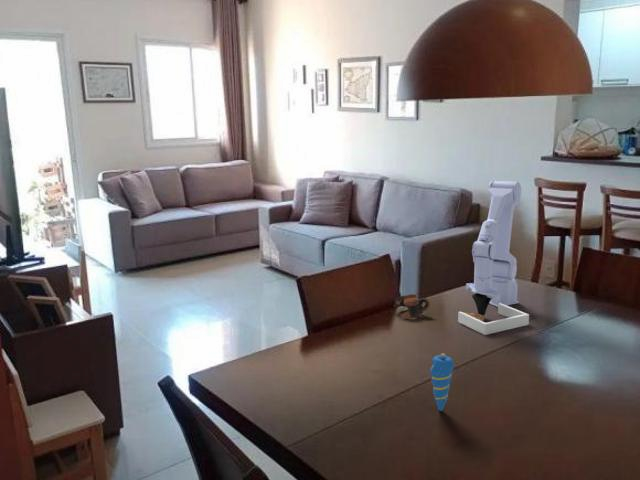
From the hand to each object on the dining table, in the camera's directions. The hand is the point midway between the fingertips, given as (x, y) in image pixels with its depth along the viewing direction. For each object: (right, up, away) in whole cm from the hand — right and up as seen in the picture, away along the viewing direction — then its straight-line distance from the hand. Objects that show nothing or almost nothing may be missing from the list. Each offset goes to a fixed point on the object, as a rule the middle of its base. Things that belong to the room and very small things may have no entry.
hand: (481, 315), depth 191 cm
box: (+2, -2, -4) cm, 5 cm away
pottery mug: (-23, -1, +6) cm, 23 cm away
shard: (-3, -2, -4) cm, 5 cm away
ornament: (-26, -15, -58) cm, 65 cm away
